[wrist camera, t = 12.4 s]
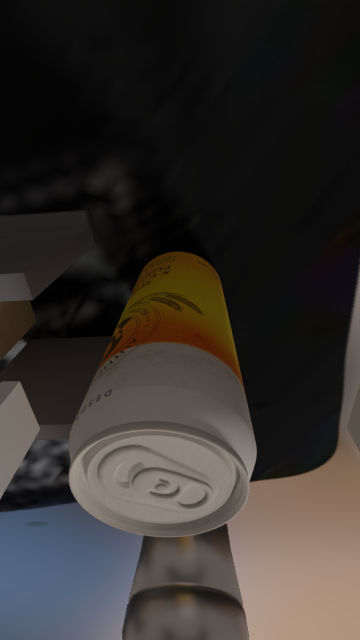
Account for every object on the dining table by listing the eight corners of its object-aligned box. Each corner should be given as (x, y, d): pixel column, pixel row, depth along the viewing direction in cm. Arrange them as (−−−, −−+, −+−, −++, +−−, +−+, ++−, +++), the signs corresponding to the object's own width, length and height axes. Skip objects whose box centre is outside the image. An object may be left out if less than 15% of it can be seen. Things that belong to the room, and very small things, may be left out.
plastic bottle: (139, 406, 28) (47, 834, 10) (202, 380, 26) (222, 846, 8) (174, 447, 30) (149, 842, 13) (234, 425, 28) (301, 854, 11)
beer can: (158, 232, 20) (90, 384, 7) (236, 271, 21) (309, 466, 8) (126, 305, 23) (33, 512, 9) (197, 336, 24) (201, 559, 11)
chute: (39, 361, 26) (-30, 452, 18) (-15, 216, 20) (-153, 256, 12) (118, 358, 25) (84, 451, 17) (87, 209, 19) (15, 247, 11)
